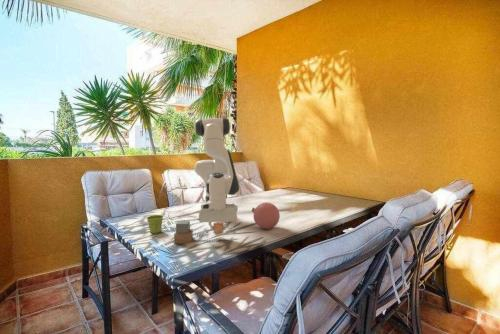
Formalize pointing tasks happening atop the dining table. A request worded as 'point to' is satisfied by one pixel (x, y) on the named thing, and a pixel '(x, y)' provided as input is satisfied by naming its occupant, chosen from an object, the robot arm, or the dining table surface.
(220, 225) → the terracotta cylinder
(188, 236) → the tower base
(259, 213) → the balloon
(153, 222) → the plant pot
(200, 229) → the dining table surface
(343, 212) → the dining table surface
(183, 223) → the tower top
